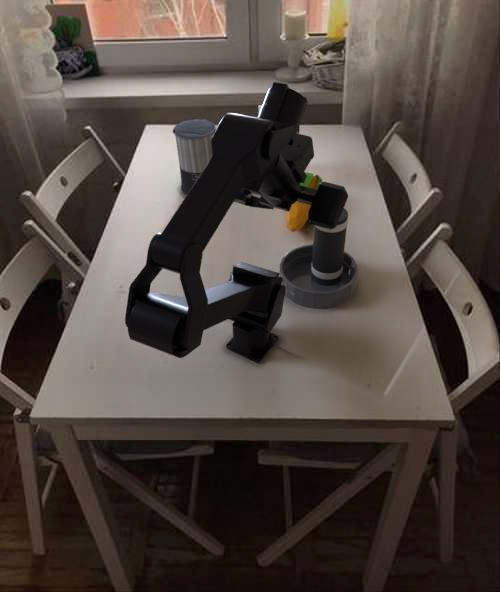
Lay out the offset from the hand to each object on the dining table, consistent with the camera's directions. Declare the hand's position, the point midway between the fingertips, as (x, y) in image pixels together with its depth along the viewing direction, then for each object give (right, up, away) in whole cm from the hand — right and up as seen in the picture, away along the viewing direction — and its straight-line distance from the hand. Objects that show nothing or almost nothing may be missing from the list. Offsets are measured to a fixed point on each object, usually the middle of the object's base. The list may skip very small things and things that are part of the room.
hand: (298, 213), depth 93 cm
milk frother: (-19, +14, +41) cm, 47 cm away
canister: (+6, -10, +12) cm, 17 cm away
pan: (+5, -11, +11) cm, 17 cm away
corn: (+4, +3, +28) cm, 28 cm away
